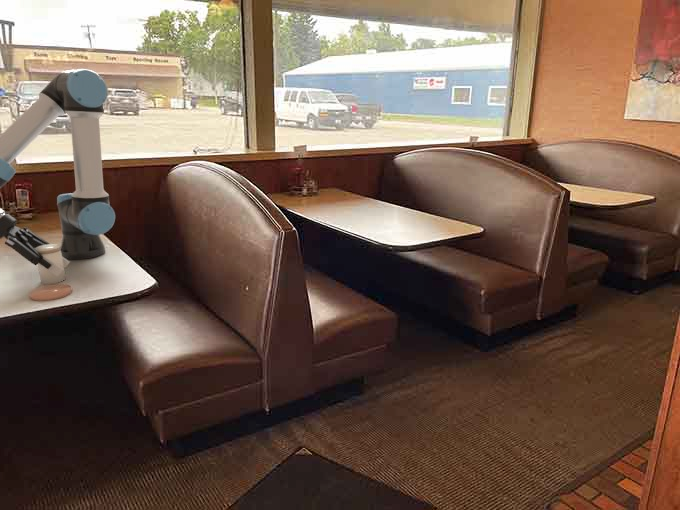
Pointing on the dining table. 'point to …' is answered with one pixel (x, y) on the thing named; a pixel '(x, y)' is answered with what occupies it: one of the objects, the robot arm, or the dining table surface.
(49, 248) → the cup
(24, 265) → the dining table surface
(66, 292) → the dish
